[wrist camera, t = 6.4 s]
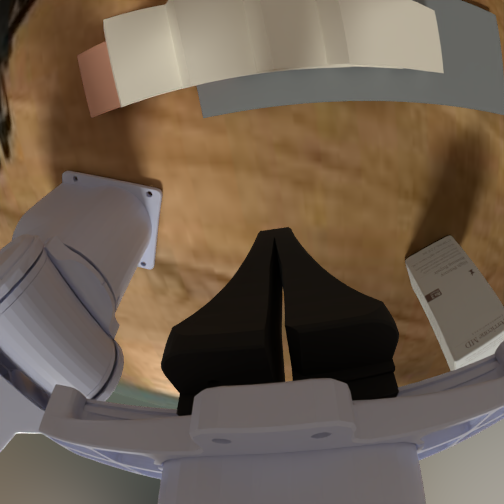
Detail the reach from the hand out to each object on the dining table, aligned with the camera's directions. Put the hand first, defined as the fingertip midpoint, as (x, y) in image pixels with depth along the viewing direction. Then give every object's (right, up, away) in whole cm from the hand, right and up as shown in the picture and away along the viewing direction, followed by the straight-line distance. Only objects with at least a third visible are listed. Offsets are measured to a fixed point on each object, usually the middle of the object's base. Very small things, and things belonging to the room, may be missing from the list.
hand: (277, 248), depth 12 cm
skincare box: (+17, -1, +13) cm, 21 cm away
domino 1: (+1, +13, +1) cm, 13 cm away
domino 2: (+4, +13, +1) cm, 14 cm away
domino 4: (+11, +15, 0) cm, 18 cm away
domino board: (+8, +15, +1) cm, 17 cm away
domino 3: (+8, +14, 0) cm, 16 cm away
